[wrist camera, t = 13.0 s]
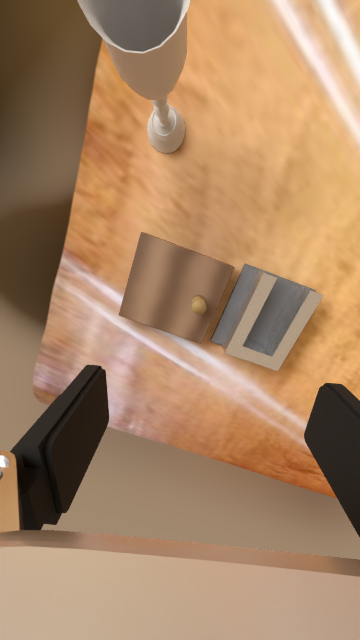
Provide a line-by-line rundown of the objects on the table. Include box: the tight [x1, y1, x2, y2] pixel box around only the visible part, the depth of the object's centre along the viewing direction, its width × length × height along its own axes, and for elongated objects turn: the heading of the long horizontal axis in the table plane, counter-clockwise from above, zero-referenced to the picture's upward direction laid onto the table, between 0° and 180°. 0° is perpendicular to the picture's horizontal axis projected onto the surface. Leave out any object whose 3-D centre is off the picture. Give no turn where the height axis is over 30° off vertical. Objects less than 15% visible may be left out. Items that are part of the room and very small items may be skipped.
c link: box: [221, 269, 323, 371], centre depth 34 cm, size 13×9×4 cm
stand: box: [119, 232, 234, 344], centre depth 32 cm, size 14×13×6 cm
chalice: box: [77, 0, 190, 153], centre depth 20 cm, size 7×7×18 cm
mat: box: [211, 264, 316, 345], centre depth 36 cm, size 12×14×1 cm
